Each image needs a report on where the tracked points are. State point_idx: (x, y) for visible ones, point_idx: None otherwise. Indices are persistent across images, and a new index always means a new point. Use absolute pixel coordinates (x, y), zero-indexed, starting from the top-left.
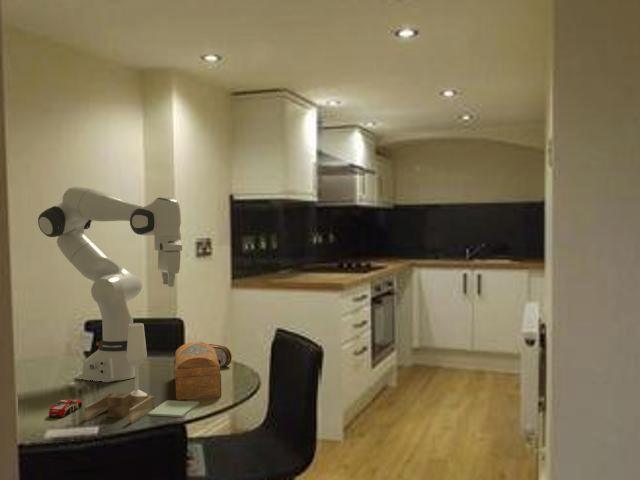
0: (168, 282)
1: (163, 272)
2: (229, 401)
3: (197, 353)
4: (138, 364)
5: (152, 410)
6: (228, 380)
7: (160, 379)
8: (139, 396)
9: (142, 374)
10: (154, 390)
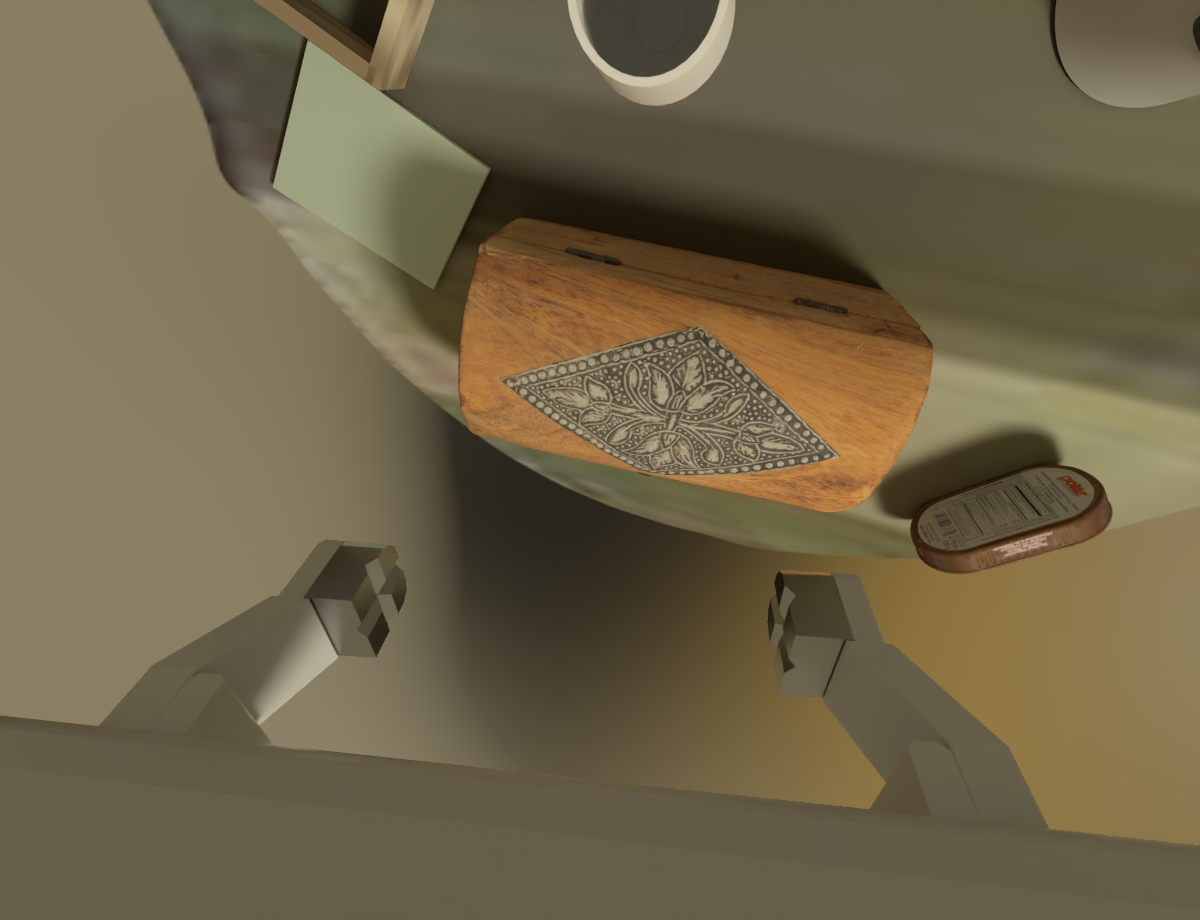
0: (299, 581)
1: (912, 797)
2: (441, 385)
3: (554, 395)
4: (620, 30)
5: (347, 70)
6: None
7: (912, 217)
8: (388, 5)
9: (1110, 136)
10: (713, 146)
